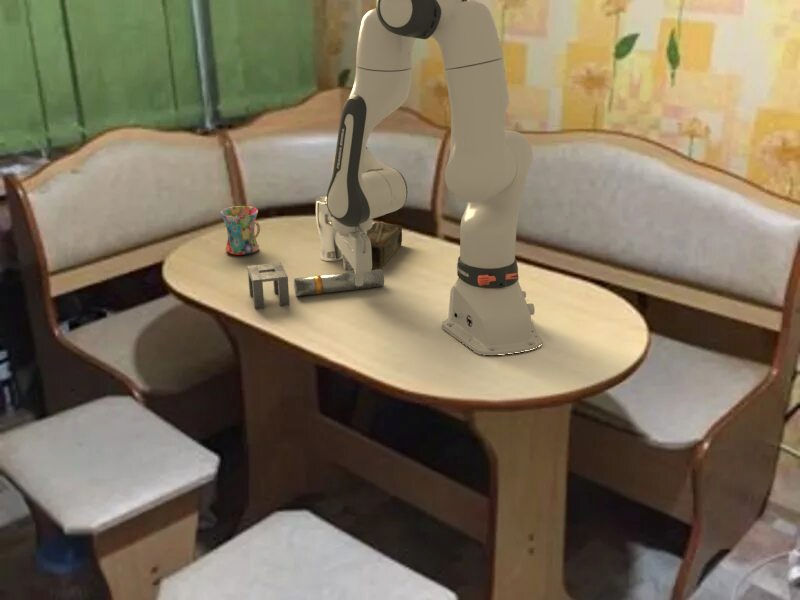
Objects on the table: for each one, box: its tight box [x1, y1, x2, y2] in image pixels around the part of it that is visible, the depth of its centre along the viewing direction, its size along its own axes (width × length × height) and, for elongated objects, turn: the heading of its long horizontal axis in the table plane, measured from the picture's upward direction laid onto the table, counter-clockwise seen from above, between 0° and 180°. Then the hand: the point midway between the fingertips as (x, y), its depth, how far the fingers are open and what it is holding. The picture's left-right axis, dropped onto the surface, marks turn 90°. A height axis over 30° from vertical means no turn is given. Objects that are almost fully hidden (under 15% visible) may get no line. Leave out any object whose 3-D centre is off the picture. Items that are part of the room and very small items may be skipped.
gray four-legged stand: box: [247, 262, 290, 310], centre depth 195 cm, size 9×8×7 cm
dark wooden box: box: [366, 221, 403, 270], centre depth 220 cm, size 8×19×7 cm, turn 163°
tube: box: [293, 268, 385, 297], centre depth 200 cm, size 20×4×4 cm, turn 106°
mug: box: [219, 205, 261, 256], centre depth 222 cm, size 12×9×11 cm
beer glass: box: [315, 195, 343, 262], centre depth 218 cm, size 7×7×15 cm
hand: (353, 277), depth 200 cm, fingers open, 8 cm apart
